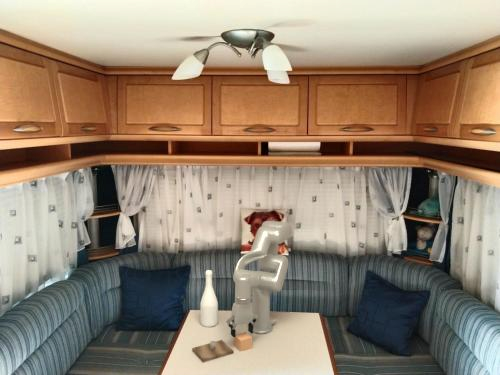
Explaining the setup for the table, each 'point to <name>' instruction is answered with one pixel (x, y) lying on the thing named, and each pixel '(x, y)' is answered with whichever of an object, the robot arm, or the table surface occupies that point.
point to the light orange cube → (243, 341)
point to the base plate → (212, 350)
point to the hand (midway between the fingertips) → (242, 334)
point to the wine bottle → (209, 304)
